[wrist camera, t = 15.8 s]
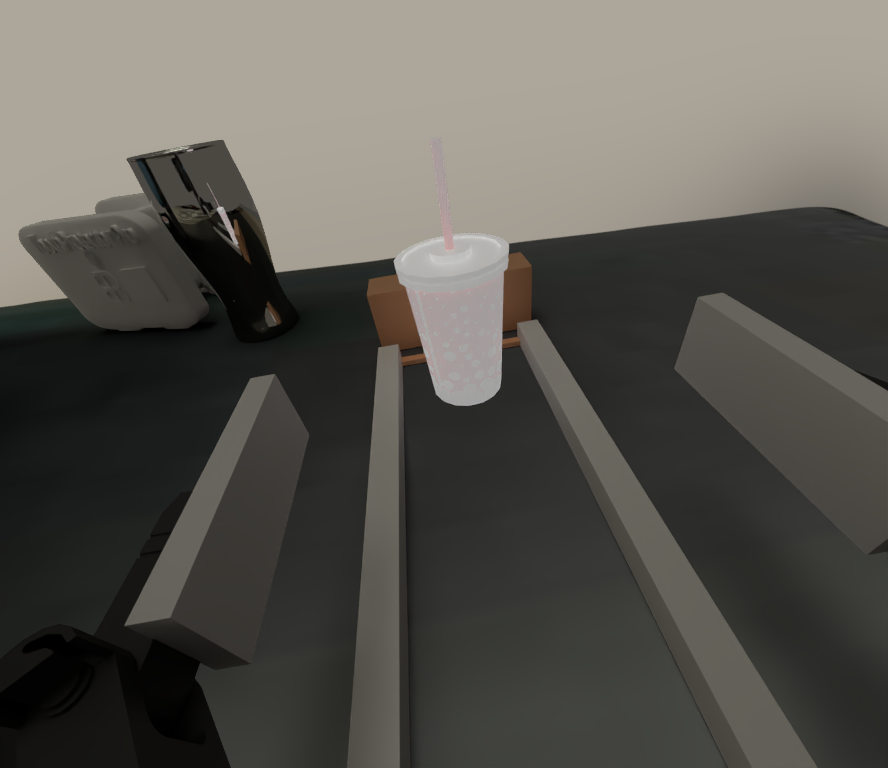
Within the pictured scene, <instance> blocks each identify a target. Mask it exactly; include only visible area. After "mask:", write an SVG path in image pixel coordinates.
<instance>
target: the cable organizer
mask: <svg viewBox="0 0 888 768" xmlns="http://www.w3.org/2000/svg"><path fill="white" fill-rule="evenodd" d="M95 212H96V214H93V215H86V216H78V217H71V218H63V219H56V220H48V221H42V222H39V223H35V224H32V225H29V226H25V227H23V228H22V229H21V230H20V231H19V240H20V242H21V244H22V245H23V247H24V248H25V249H26V250H27V251H28V253H30V255H31V256H32V257H33V258H34V259H35V260H36V262H37V263H38V264H39V265H40V266H41V267H42V268H43V270H44V271H45V272H46V273H47V274H48V275H49V276H50V277H51V279H52V280H53V281H54V282H55V283H56V285H58V287H59V288H60V289H61V290H62V291H63V292H64V294H65V295H66V296H67V297H68V298H69V299H70V301H71V302H72V303H73V304H74V305H75V306H76V307H77V309H78V310H79V311H80V312H81V313H82V314H83V315H84V317H85V318H86V319H88V320H89V321H90V322H92V323H93V324H95V325H97V326H99V327H102V328H106V329H117V330H119V331H135V330H141V329H143V328H158V327H164V328H166V329H185V328H190V327H191V326H192V325H195V324H196V323H197V322H199V321H200V320H201V319H203V318H204V317H205V316H207V314H208V313H209V305H208V303H207V301H206V300H205V298H204V297H203V295H202V293H201V292H210V293H211V294H215V292H214V291H213V290H212V289H211V287H210V286H209V285H208V284H207V282H206V281H205V280H204V279H203V278H202V277H201V275H200V274H199V273H198V272H197V271H196V269H195V268H194V267H193V266H192V265H191V263H190V262H189V261H188V260H187V259H186V257H185V256H184V255H183V254H182V252H181V251H180V250H179V248H178V247H177V246H176V244H175V243H174V242H173V240H172V239H171V237H170V236H169V234H168V233H167V231H166V230H165V228H164V227H163V225H162V224H161V222H160V220H159V219H158V217H157V215H156V213H155V212H154V210H153V208H152V206H151V205H150V203H149V201H148V199H147V197H146V195H145V193H140V194H133V195H126V196H119V197H113V198H109V199H106V200H103V201H100V202H98V203H97V205H96V207H95Z"/></svg>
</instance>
